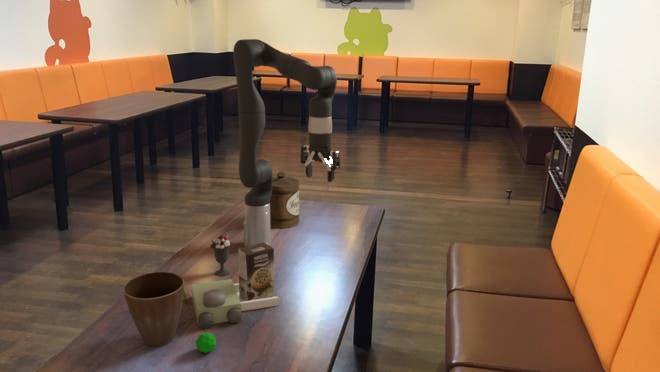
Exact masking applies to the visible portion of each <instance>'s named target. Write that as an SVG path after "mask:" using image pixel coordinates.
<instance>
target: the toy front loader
mask: <svg viewBox="0 0 660 372" xmlns="http://www.w3.org/2000/svg"><path fill="white" fill-rule="evenodd" d="M191 293H192V294H191V296H192V303H193V308H194V314H195V316H196V317H195V318H196V321H197V326H198V327H200V328H201V329H208V328H210V327H212V326H213V325H215V324H220V323H221V324H222V323H225V322H229V323H230V324H237V323H238V324H239V322H241V321H242V319H243V313H242V312H245V311H252V310H258V309H264V308H265V309H266V308H271V307H276V306H277V307H278V306H280V304H279V303H280V302H279V301H280V300H279V299H280V298H279V296H275V295H274V297H270V298H263V299H257V300H250V301H244V300H243V299H242V298H241V297H240V296H239V282H238V283H234V282H233V278H229V279H223V280H215V281H213V280H212V281H208V282H201V283H193V284H191Z"/></svg>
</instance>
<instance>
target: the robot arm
mask: <svg viewBox="0 0 660 372" xmlns="http://www.w3.org/2000/svg"><path fill="white" fill-rule="evenodd" d="M232 51H233V52H232V53H233V55H232V56H233V65H234V72H235V79H236V86H237V89H236V90H237V100H238V101H237V102H238V105H237V107H238V108H237V109H238V124H239V125H238V126H239V160H238V163H239V164H238V175H239V176H238V177H239V180H240V182H241V184H242V185H243V186H244V187H245V188H247V189H250V190H249V191H248V192H247V193H246V194H245V195H244V217H245V218H244V221H243V245H244V246H243V247H246V246H250V245H255V244H259V243H263V242H264V243H266V244H267V245H269V246H271V243H272V241H271V240H272V239H271V237H272V236H271V235H272V231H271V227H270V198H271V195H272V179H273V177H274V176H273V168H272V166H271V164H270V162H269V161H268V160H267V159H265V158H257V150H258V145H259V143H260V140H261V138H262V136H263V133H264V130H265V127H266V107H265V102H264V100H263V98H262V97H261V95H260V93H259V91H258V89H257V87H256V85H255V83H254V78H253V77H254V76H253V68H259V67H270V68H272V69H275V70H276V71H277V72H278V73H279V74H280V75H282V76H283V77H286V78H287V79H291V80H292V81H294V82H295V81H296V82H298V83H299V84H300V85H302V86H303V87H305V88H307V89H309V90H314V91H317V92H316V95H314V96H313V97H311V98H310V100H309V105H308V107H309V108H308V109H309V112H308V113H309V114H308V115H309V116H308V138H307V139H308V142H307V143H308V144H305V145H301V147H300V164H303V165H304V167H305V175H306V178H312V177H313V163H314V162H319V163H322V164H323V165H324V166H326V168H327V182H328V183H331V182H333V181H334V180H335V172H336V170H339V169H341V156H340V155H341V153H340V152H341V151H340V150H338V149H337V150H333V149H332V144H333V121H332V119H333V118H332V113H333V112H332V111H333V109H332V108H333V107H332V104H333V101H334V96H335V92H336V87H337V85H338V76H337V73H336V72H337V71H335V69H334V68H333V67H332V66H330V65H320V66H319V65H317V66H314V65H311V63H310V62H309V61H307V60H305V59H303V58H300V57H297V56H294V55H290V54H287V53H285V52H283V51H280V50H279V49H277V48H274V47H273V46H271V44H269V43H266V42H265V41H263V40H261V39H255V38H251V39H248V38H246V39H239V40H237V41H236V42H235V44H234V45H233V50H232ZM309 154H310V155H309ZM271 247H272V246H271Z"/></svg>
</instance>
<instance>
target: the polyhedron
mask: <svg viewBox="0 0 660 372" xmlns="http://www.w3.org/2000/svg"><path fill="white" fill-rule="evenodd" d="M216 344H217V339H216V337H215V336H214V335H213V334H212V333H210V332H206V331H205V332H203V333H202V334H199V335H198V336H197V338H196V340H195V347H196V348H197V350H198V351H199V352H201V353H205V354H206V353H209V352H211V351H213V350H214V349H215V347H216Z"/></svg>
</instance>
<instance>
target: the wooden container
mask: <svg viewBox="0 0 660 372" xmlns="http://www.w3.org/2000/svg"><path fill="white" fill-rule="evenodd" d="M299 222H300V180H299V179H297V178H295V177H291V176H286V173H285V172H283V171H279V172H277V175H276V176H273V179H272V195H271V198H270V228H275V229H288V228H292V227H296V226H298V224H299Z"/></svg>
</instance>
